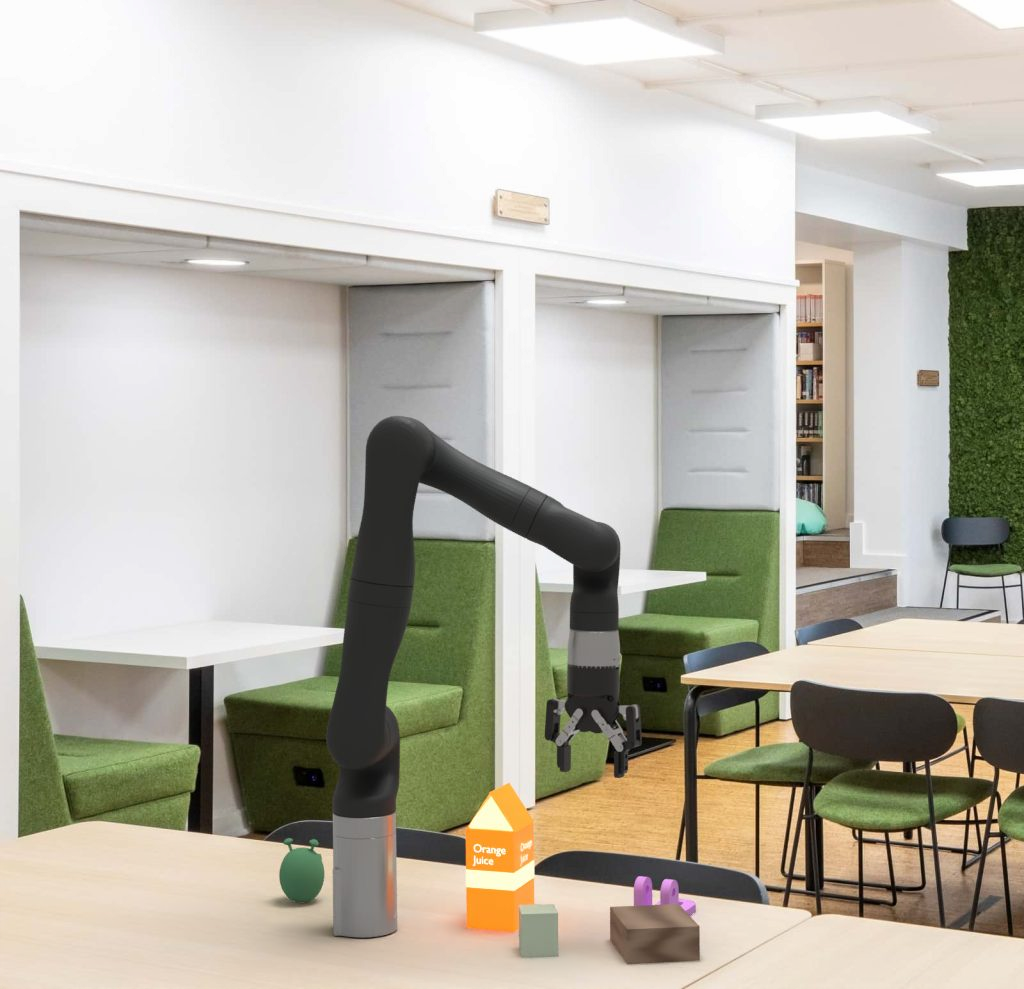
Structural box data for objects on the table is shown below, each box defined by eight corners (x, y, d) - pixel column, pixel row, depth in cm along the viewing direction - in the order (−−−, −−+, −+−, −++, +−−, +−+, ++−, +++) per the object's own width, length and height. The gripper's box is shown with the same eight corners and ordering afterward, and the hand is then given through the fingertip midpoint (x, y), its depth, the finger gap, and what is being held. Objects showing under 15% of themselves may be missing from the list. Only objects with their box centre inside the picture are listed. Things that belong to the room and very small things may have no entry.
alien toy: (329, 895, 257) (329, 832, 257) (319, 908, 250) (318, 843, 250) (286, 895, 258) (285, 832, 258) (274, 907, 250) (274, 842, 250)
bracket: (669, 931, 235) (669, 883, 235) (634, 926, 238) (633, 879, 238) (701, 909, 247) (700, 864, 247) (666, 905, 249) (666, 860, 249)
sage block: (522, 958, 222) (521, 914, 222) (518, 947, 227) (518, 905, 227) (558, 956, 222) (557, 913, 222) (554, 946, 227) (554, 903, 227)
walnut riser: (627, 966, 218) (627, 929, 218) (610, 941, 230) (609, 906, 230) (699, 963, 220) (699, 926, 220) (679, 938, 231) (678, 903, 231)
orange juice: (465, 927, 237) (464, 791, 237) (487, 912, 246) (485, 781, 246) (515, 932, 235) (514, 794, 235) (536, 916, 243) (534, 783, 243)
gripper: (537, 660, 232) (536, 773, 232) (628, 666, 225) (627, 783, 226) (560, 656, 239) (559, 766, 239) (649, 662, 232) (648, 775, 232)
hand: (592, 774), depth 232 cm, fingers open, 8 cm apart
